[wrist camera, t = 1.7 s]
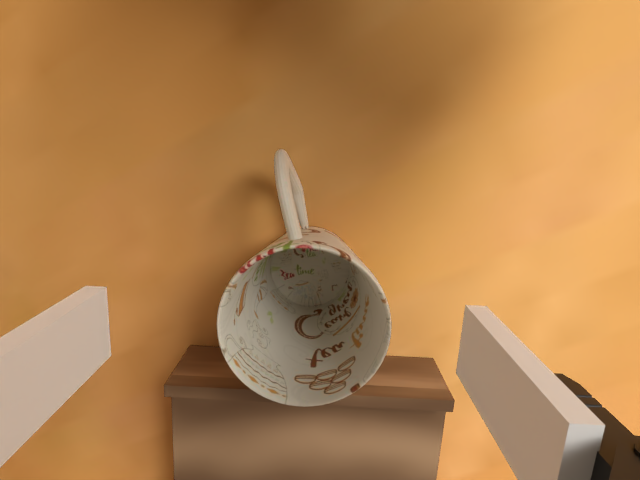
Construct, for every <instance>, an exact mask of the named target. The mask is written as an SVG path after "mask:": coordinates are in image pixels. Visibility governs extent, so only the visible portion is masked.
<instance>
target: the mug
mask: <svg viewBox="0 0 640 480" xmlns="http://www.w3.org/2000/svg"><path fill="white" fill-rule="evenodd" d="M274 172H275V181H276V188H277V193H278V199H279V203H280V207H281V211H282V216H283V220H284V224H285V228H286V232H287V233H286V234H284V235H283V236H281V237H280V238H279V239H277V240H276V241H274V242H273V243H272V244H270V245H269V246H267V247H266V248H265V249H263V250H262V251H260V252H259V253H257V254H256V255H255V256H253V257H252V258H251V259H249V260H248V261H247V262H246V263H245V264H244V265H243V266H242V267H241V268H240V269H239V270H238V271H237V272H236V273H235V275H234V276H233V277H232V279H231V280H230V282H229V283H228V285H227V287H226V289H225V291H224V292H223V295H222V298H221V300H220V304H219V308H218V314H217V336H218V341H219V345H220V348H221V351H222V354H223V356H224V358H225V360H226V362H227V364H228V365H229V367H230V368H231V370H232V371H233V373H234V374H235V375H236V376H237V377H238V378H239V379H240V380H241V381H242V382H243V383H244V384H245V385H246V386H247V387H249V388H250V389H251V390H253V391H254V392H256V393H257V394H259V395H261V396H263V397H265V398H267V399H270V400H272V401H275V402H278V403H281V404H286V405H292V406H303V407H306V406H319V405H324V404H329V403H332V402H335V401H338V400H340V399H343V398H345V397H347V396H349V395H351V394H352V393H354V392H355V391H357V390H358V389H360V388H361V387H362V386H364V385H365V384H366V383H367V382H368V381H369V380H370V379H371V378H372V376H373V375H374V374H375V373H376V371H377V370H378V369H379V367H380V365H381V364H382V362H383V360H384V358H385V355H386V353H387V350H388V347H389V342H390V337H391V314H390V309H389V305H388V302H387V299H386V296H385V294H384V291H383V289H382V287H381V286H380V284H379V282H378V281H377V279H376V278H375V276H374V275H373V274H372V272H371V271H370V270H369V269H368V268H367V267H366V265H365V264H364V263H363V262H362V261H361V260H360V259H359V258H358V257H357V256H356V255H355V253H354V252H353V251H352V250H351V249H350V248H349V247H348V246H347V245H346V244H345V243H344V241H343V240H341V239H340V238H339V237H338V236H337V235H335V234H334V233H332V232H330V231H328V230H326V229H323V228H319V227H308V217H307V211H306V205H305V199H304V193H303V188H302V185H301V182H300V179H299V177H298V175H297V172H296V170H295V168H294V166H293V163H292V161H291V159H290V157H289V155H288V154H287V152H286V151H285V150H283V149H279V150H277V151H276V153H275V157H274ZM299 223H300V225H299ZM300 226H301V228H300Z"/></svg>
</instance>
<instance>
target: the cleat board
mask: <svg viewBox="0 0 640 480" xmlns="http://www.w3.org/2000/svg"><path fill="white" fill-rule="evenodd" d="M164 397H172V426H173V459H174V480H436V477H437V470H438V463H439V456H440V449H441V442H442V435H443V428H444V420H445V413H446V412H453V408H454V399H453V397H452V395H451V393H450V391H449V389H448V387H447V385H446V383H445V381H444V379H443V377H442V375H441V373H440V371H439V369H438V367H437V365H436V363H435V361H434V359H433V358H419V357H400V356H385V358H384V360H383V362H382V364H381V365H380V367H379V369H378V370H377V371H376V373H375V374H374V375H373V376H372V378H371V379H370V380H369V381H368V382H367V383H366V384H365V385H364V386H362V387H361V388H360V389H358V390H357V391H355V392H354V393H352V394H351V395H349V396H347V397H345V398H343V399H340V400H338V401H335V402H332V403H329V404H324V405H319V406H306V407H303V406H292V405H286V404H281V403H278V402H275V401H272V400H270V399H267V398H265V397H263V396H261V395H259V394H257V393H256V392H254V391H253V390H251V389H250V388H249V387H247V386H246V385H245V384H244V383H243V382H242V381H241V380H240V379H239V378H238V377H237V376H236V375H235V374H234V373H233V371H232V370H231V368H230V367H229V365H228V364H227V362H226V360H225V358H224V356H223V354H222V351H221V348H220V347H213V346H194V345H190V346H189V348H188V349H187V351H186V352H185V354H184V355H183V357H182V358H181V360H180V362H179V363H178V365H177V366H176V368H175V369H174V371H173V372H172V374H171V375H170V377H169V378H168V380H167V381H166V383H165V384H164Z"/></svg>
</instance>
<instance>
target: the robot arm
mask: <svg viewBox="0 0 640 480" xmlns="http://www.w3.org/2000/svg"><path fill="white" fill-rule="evenodd" d="M110 356H111V344H110V329H109V314H108V299H107V287H100V286H84V287H83V288H81V289H79V290H78V291H76V292H74V293H73V294H71V295H70V296H68V297H66V298H65V299H63V300H61V301H60V302H58V303H56V304H55V305H53V306H51V307H50V308H48V309H46V310H45V311H43V312H41V313H40V314H38V315H36V316H35V317H33V318H31V319H30V320H28V321H26V322H25V323H23V324H22V325H20V326H18V327H17V328H15V329H13V330H12V331H10V332H8V333H7V334H5V335H3V336H2V337H0V467H1V466H2V465H3V464H4V463H5V462H6V461H7V460H8V459H9V458H10V457H11V456H12V455H13V454H14V453H15V452H16V451H17V450H18V449H19V448H20V447H21V446H22V445H23V444H24V443H25V442H26V441H27V440H28V439H29V438H30V437H31V436H32V435H33V434H34V433H35V432H36V431H37V430H38V429H39V428H40V427H41V426H42V425H43V424H44V423H45V422H46V421H47V420H48V419H49V418H50V417H51V416H52V415H53V414H54V413H55V412H56V411H57V410H58V409H59V408H60V407H61V406H62V405H63V404H64V403H65V402H66V401H67V400H68V399H69V398H70V397H71V396H72V395H73V394H74V393H75V392H76V391H77V390H78V389H79V388H80V387H81V386H82V385H83V384H84V383H85V382H86V381H87V380H88V379H89V378H90V377H91V376H92V375H93V374H94V373H95V372H96V371H97V370H98V369H99V368H100V367H101V366H102V365H103V364H104V363H105V361H106V360H107V359H108V358H109V357H110ZM456 374H457V375H458V377H459V379H460V381H461V382H462V384H463V386H464V388H465V389H466V391H467V393H468V394H469V396H470V398H471V400H472V401H473V403H474V405H475V407H476V408H477V410H478V412H479V413H480V415H481V417H482V419H483V420H484V422H485V424H486V426H487V427H488V429H489V431H490V432H491V434H492V436H493V438H494V439H495V441H496V443H497V445H498V446H499V448H500V450H501V451H502V453H503V455H504V457H505V458H506V460H507V462H508V464H509V465H510V467H511V469H512V470H513V472H514V474H515V476H516V477H517V479H518V480H640V436H634V435H633V434H632V433H631V432H630V431H629V430H628V429H627V428H626V427H624V426H623V425H622V424H621V423H620V422H619V421H618V420H617V419H616V418H615V417H614V416H613V415H612V414H611V413H610V412H609V411H607V410H606V409H605V408H602V405H601V404H600V403H599V402H598V401H597V400H596V399H595V398H592V395H590V394H589V393H588V392H587V391H586V390H585V389H584V388H583V387H582V386H581V385H580V384H578V383H577V382H575V381H573V380H572V379H570V378H568V377H566V376H565V375H563V374H555V373H553V372H552V371H551V370H550V369H549V368H548V367H547V366H546V365H545V364H544V363H543V362H542V361H541V360H540V359H539V358H538V357H537V356H536V355H535V354H534V353H533V352H532V351H531V350H530V349H529V348H528V347H527V346H526V345H525V344H524V343H523V342H522V341H521V340H520V339H519V338H518V337H517V336H516V335H515V334H514V333H513V332H512V331H511V330H510V329H509V328H508V327H507V326H506V325H505V324H504V323H503V322H502V321H501V320H500V319H499V318H498V317H497V316H496V315H495V314H494V313H493V312H492V311H491V310H490V309H489V308H488V307H487V306H474V305H465V312H464V319H463V326H462V333H461V340H460V348H459V355H458V362H457V369H456Z"/></svg>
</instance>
